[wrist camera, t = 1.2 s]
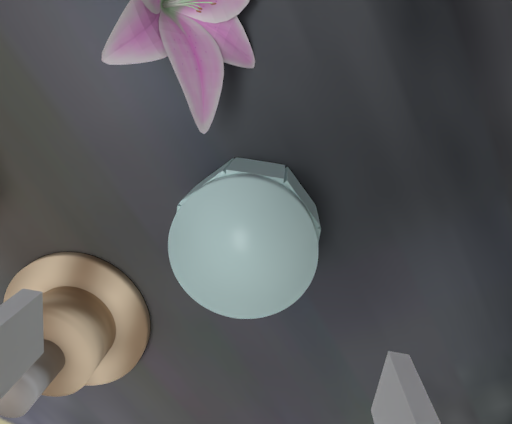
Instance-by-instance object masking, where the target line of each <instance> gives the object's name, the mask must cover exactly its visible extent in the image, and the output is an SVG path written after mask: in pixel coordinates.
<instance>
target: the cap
mask: <svg viewBox="0 0 512 424" xmlns="http://www.w3.org/2000/svg"><path fill="white" fill-rule="evenodd" d="M320 232H321V227H320V222H319V217H318V212H317V208H316V205H315V203H314V202H313V201H312V199H311V198H310V196H309V195H308V194H307V192H306V191H305V190H304V188H303V187H302V185H301V184H300V183H299V181H298V180H297V179H296V177H295V176H294V174H293V173H292V172H291V170H290V169H289V167H286V168H285V165H283V164H277V163H270V162H264V161H258V160H252V159H245V158H239V157H236V158H235V159H234V158H232V159H231V160H230V161H228V162H227V163H226V164H224V165H223V166H222V167H220V168H219V169H218V170H216V171H215V172H213V173H212V174H211V175H209V176H208V177H207V178H205V179H204V180H203V181H201V182H200V183H199V184H197V185H196V186H195V187H194V188H193V189H192V190H191V191H190V192H189V193H188V194H187V195H186V196H185V197H184V198H183V199H182V200H181V201H180V202H179V204H178V205H177V214H176V215H175V217H174V220H173V222H172V225H171V228H170V231H169V238H168V254H169V260H170V264H171V267H172V270H173V272H174V275H175V277H176V278H177V280H178V282H179V284H180V285H181V286H182V288H183V289H184V290H185V291H186V292H187V293H188V295H189V296H190V297H191V298H193V299H194V300H195V301H196V302H197V303H199V304H200V305H202V306H203V307H205V308H207V309H209V310H211V311H213V312H215V313H217V314H220V315H223V316H227V317H231V318H239V319H255V318H262V317H266V316H270V315H273V314H275V313H278V312H280V311H282V310H284V309H286V308H287V307H289V306H290V305H292V304H293V303H294V302H295V301H297V300H298V299H299V298H300V297H301V296H302V294H303V293H304V292H305V291H306V290H307V288H308V286H309V285H310V283H311V281H312V279H313V277H314V275H315V271H316V268H317V263H318V242H319V237H320Z"/></svg>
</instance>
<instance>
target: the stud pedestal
mask: <svg viewBox="0 0 512 424" xmlns="http://www.w3.org/2000/svg"><path fill="white" fill-rule="evenodd" d="M21 289H29V290H35V291H41V292H42V294H43V335H44V353H43V354H42V355H41V356H40V357H39V358H38V359H37V361H36V362H35V363H34V364H33V365H32V366H31V367H30V368H29V369H28V370H27V371H26V372H25V373H24V374H23V376H22V377H21V378H20V379H19V380H18V381H17V382H16V383H15V384H14V385H13V386H12V387H11V388H10V390H9V391H8V392H7V393H6V394H5V395H4V396H3V397H2V398H1V399H0V415H2V416H4V417H9V418H17V417H21V416H23V415H24V414H26V413H27V411H28V410H29V409H30V408H31V406H32V405H33V404H34V403H35V402H36V400H37V399H38V398H39V397H40V395H41V394H42V395H46V396H65V395H69V394H72V393H75V392H76V391H78V390H80V389H81V388H82V387H83V386H84V385H101V384H105V383H109V382H112V381H115V380H117V379H119V378H121V377H123V376H124V375H125V374H127V373H128V372H129V371H130V370H131V369H132V368H133V367H134V366H135V365H136V364H137V362H138V361H139V359H140V358H141V356H142V354H143V352H144V350H145V348H146V346H147V344H148V340H149V336H150V317H149V312H148V309H147V305H146V303H145V301H144V299H143V297H142V295H141V293H140V292H139V290H138V289H137V287H136V286H135V285H134V283H133V282H132V281H131V280H130V279H129V278H128V277H127V276H126V275H125V274H124V273H123V272H121V271H120V270H119V269H118V268H116V267H114V266H113V265H111V264H110V263H108V262H106V261H104V260H102V259H100V258H97V257H94V256H91V255H88V254H83V253H77V252H59V253H52V254H49V255H46V256H43V257H41V258H39V259H37V260H35V261H34V262H32V263H31V264H29V265H28V266H26V267H25V268H23V269H22V270H21V271H20V272H18V273H17V274H16V275H15V277H14V278H13V279H12V281H11V282H10V284H9V286H8V288H7V290H6V293H5V297H4V302H5V301H7V300H8V299H9V298H11V297H12V296H13V295H15V294H16V293H17V292H19V291H20V290H21Z"/></svg>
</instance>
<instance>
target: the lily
mask: <svg viewBox="0 0 512 424" xmlns="http://www.w3.org/2000/svg"><path fill="white" fill-rule="evenodd" d="M249 1H250V0H130V2H129V3H128V5H127V6H126V8H125V9H124V11H123V13H122V14H121V16H120V18H119V20H118V21H117V23H116V25H115V27H114V29H113V31H112V33H111V34H110V36H109V38H108V40H107V42H106V45H105V47H104V49H103V52H102V61H103V62H105V63H107V64H111V65H125V64H137V63H144V62H151V61H155V60H159V59H163V58H165V57H167V56H168V58H169V60H170V62H171V64H172V67H173V69H174V71H175V73H176V76H177V78H178V80H179V83H180V85H181V87H182V89H183V92H184V95H185V97H186V100H187V103H188V105H189V108H190V110H191V113H192V115H193V118H194V121H195V123H196V125H197V127H198V129H199V131H200V132H201V133H203V134H205V133H206V132H207V131H208V130H209V128H210V126H211V123H212V121H213V118H214V115H215V112H216V109H217V106H218V102H219V98H220V94H221V90H222V84H223V77H224V63H223V62H225V63H228V64H231V65H235V66H238V67H243V68H254V64H255V58H254V54H253V51H252V48H251V45H250V42H249V40H248V38H247V35H246V33H245V31H244V28H243V26H242V25H241V23H240V21H239V19H238V17H237V16H236V15H238V14H239V13H240V12H241V11H242V10H243V9H244V8H245V7H246V6H247V4H248V3H249Z"/></svg>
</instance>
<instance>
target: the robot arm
mask: <svg viewBox="0 0 512 424" xmlns="http://www.w3.org/2000/svg"><path fill="white" fill-rule="evenodd" d="M43 353H44V335H43V294H42V292H41V291H35V290H29V289H21V290H20V291H19V292H17V293H16V294H15V295H13V296H12V297H11V298H9V299H8V300H7V301H5V302H4V303H3V304H1V305H0V399H1V398H2V397H3V396H4V395H5V394H6V393H7V392H8V391H9V390H10V388H11V387H12V386H13V385H14V384H15V383H16V382H17V381H18V380H19V379H20V378H21V377H22V376H23V374H24V373H25V372H26V371H27V370H28V369H29V368H30V367H31V366H32V365H33V364H34V363H35V362H36V361H37V359H38V358H39V357H40V356H41V355H42V354H43ZM371 412H372V416H373V420H374V424H441V423H440V421H439V419H438V417H437V415H436V412H435V410H434V408H433V406H432V404H431V401H430V399H429V397H428V395H427V393H426V391H425V388H424V386H423V384H422V382H421V380H420V377H419V375H418V373H417V371H416V369H415V367H414V364H413V362H412V360H411V358H410V356H409V355H408V354H403V353H397V352H391V351H388V354H387V357H386V360H385V364H384V367H383V371H382V374H381V377H380V381H379V384H378V388H377V391H376V395H375V398H374V401H373V405H372V408H371Z"/></svg>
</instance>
